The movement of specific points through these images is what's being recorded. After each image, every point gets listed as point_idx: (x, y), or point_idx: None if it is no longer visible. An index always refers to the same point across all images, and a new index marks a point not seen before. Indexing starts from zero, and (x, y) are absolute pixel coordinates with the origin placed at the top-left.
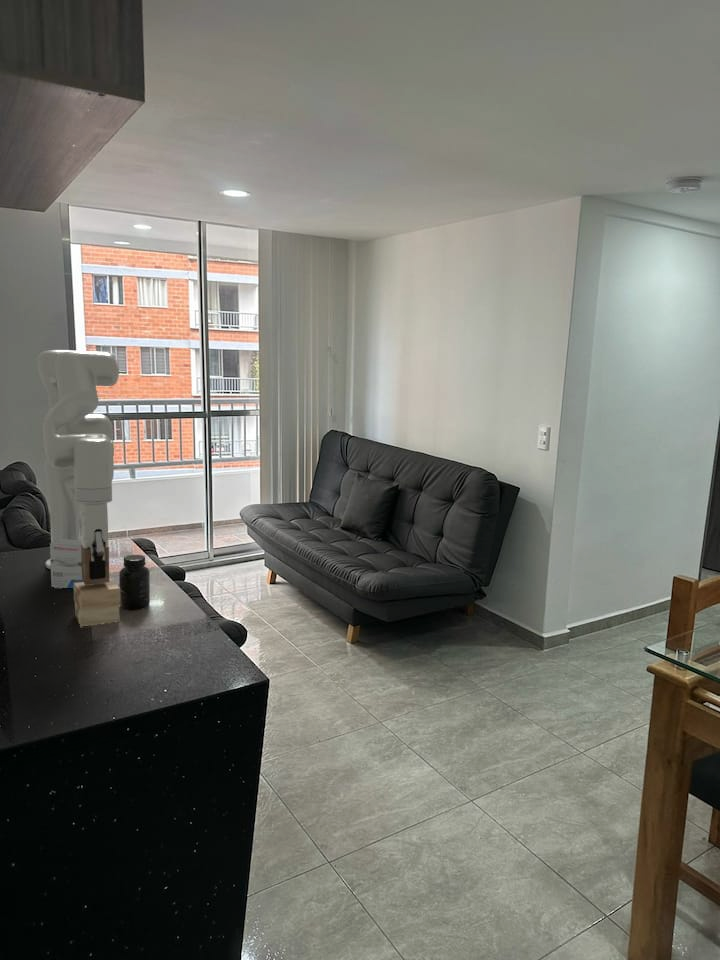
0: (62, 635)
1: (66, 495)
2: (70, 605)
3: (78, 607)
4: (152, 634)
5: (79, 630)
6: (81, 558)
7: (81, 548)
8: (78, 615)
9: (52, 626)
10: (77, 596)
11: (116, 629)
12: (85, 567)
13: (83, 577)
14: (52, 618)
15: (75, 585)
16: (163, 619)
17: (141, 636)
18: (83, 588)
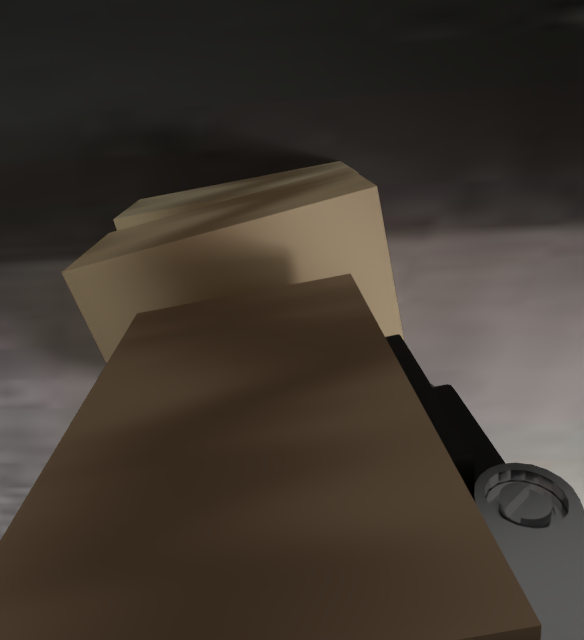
0: (27, 104)
1: None
2: (512, 122)
3: (194, 204)
4: (25, 488)
5: (97, 195)
6: (384, 388)
7: (407, 539)
8: (207, 192)
9: (179, 31)
10: (235, 209)
11: (94, 363)
12: (79, 423)
13: (230, 313)
14: (319, 20)
15: (302, 207)
16: None
17: (3, 454)
18: (206, 276)
